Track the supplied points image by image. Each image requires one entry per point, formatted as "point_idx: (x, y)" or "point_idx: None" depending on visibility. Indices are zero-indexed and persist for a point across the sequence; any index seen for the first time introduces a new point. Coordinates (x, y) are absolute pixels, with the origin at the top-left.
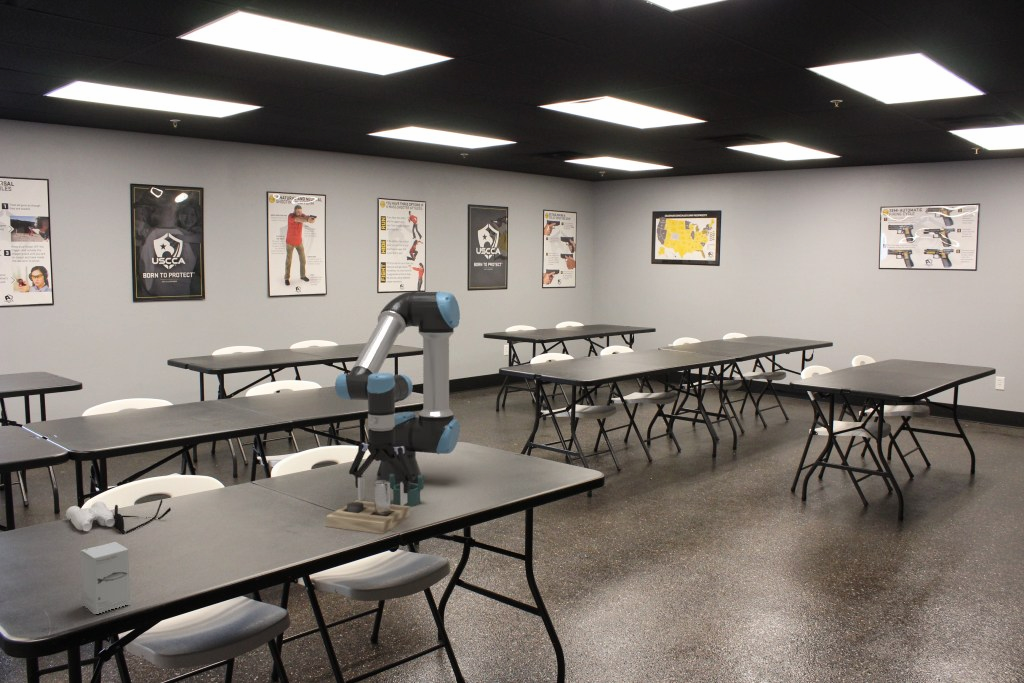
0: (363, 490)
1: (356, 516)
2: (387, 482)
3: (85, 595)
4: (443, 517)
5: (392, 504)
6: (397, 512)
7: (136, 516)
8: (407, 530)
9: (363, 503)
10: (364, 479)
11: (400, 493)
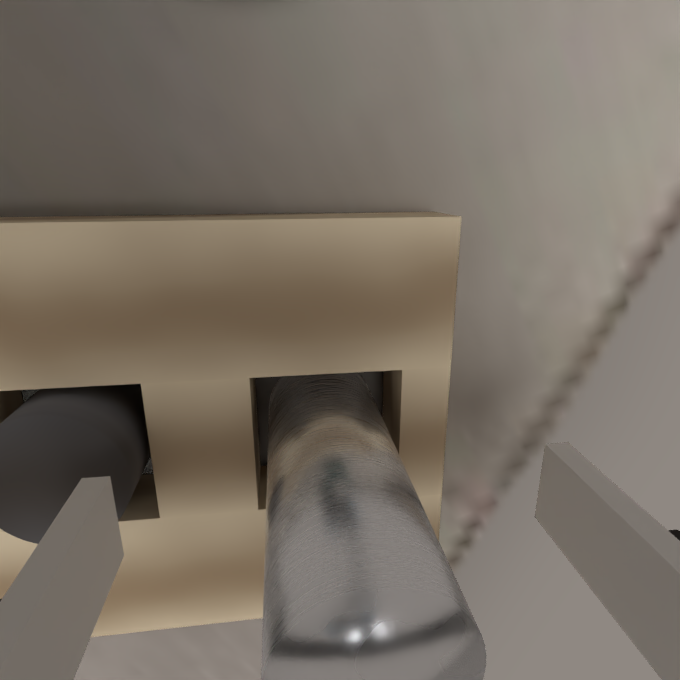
0: (82, 565)
1: (193, 573)
2: (456, 663)
3: None
4: (673, 141)
5: (290, 223)
6: (431, 393)
7: None
8: (520, 452)
9: (13, 296)
10: (8, 669)
11: (601, 600)
